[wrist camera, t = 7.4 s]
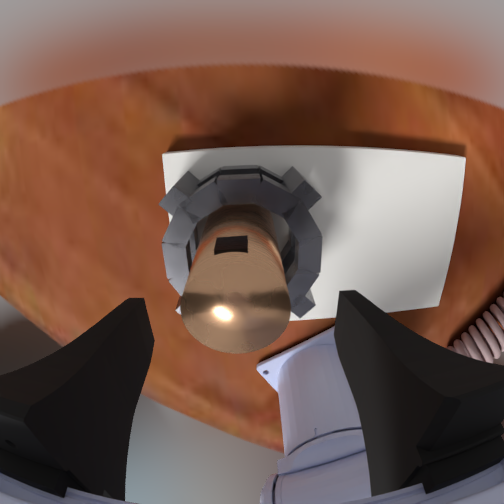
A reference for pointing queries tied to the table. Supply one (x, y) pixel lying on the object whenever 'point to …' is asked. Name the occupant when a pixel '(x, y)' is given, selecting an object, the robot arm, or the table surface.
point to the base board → (360, 216)
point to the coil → (490, 344)
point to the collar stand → (246, 192)
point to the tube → (237, 282)
